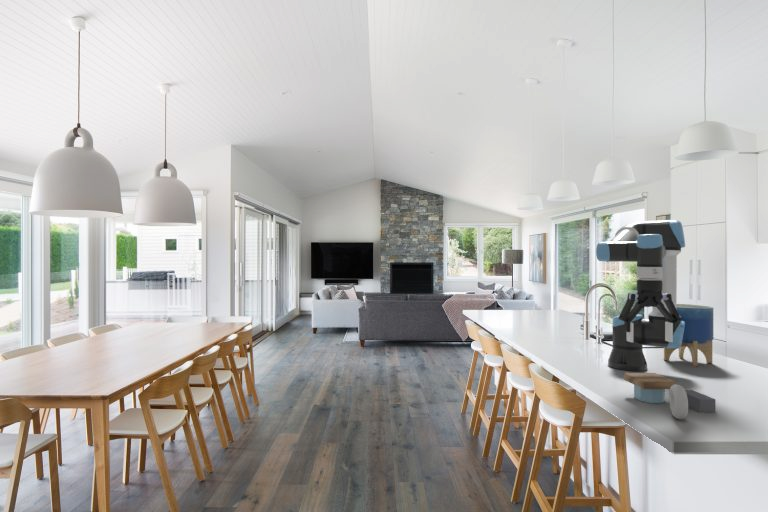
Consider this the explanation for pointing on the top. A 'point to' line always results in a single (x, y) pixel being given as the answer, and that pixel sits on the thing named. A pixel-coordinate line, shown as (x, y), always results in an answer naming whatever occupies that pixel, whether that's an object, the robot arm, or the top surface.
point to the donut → (678, 401)
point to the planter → (695, 332)
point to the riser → (700, 402)
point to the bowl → (649, 394)
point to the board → (649, 380)
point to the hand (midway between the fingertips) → (649, 341)
